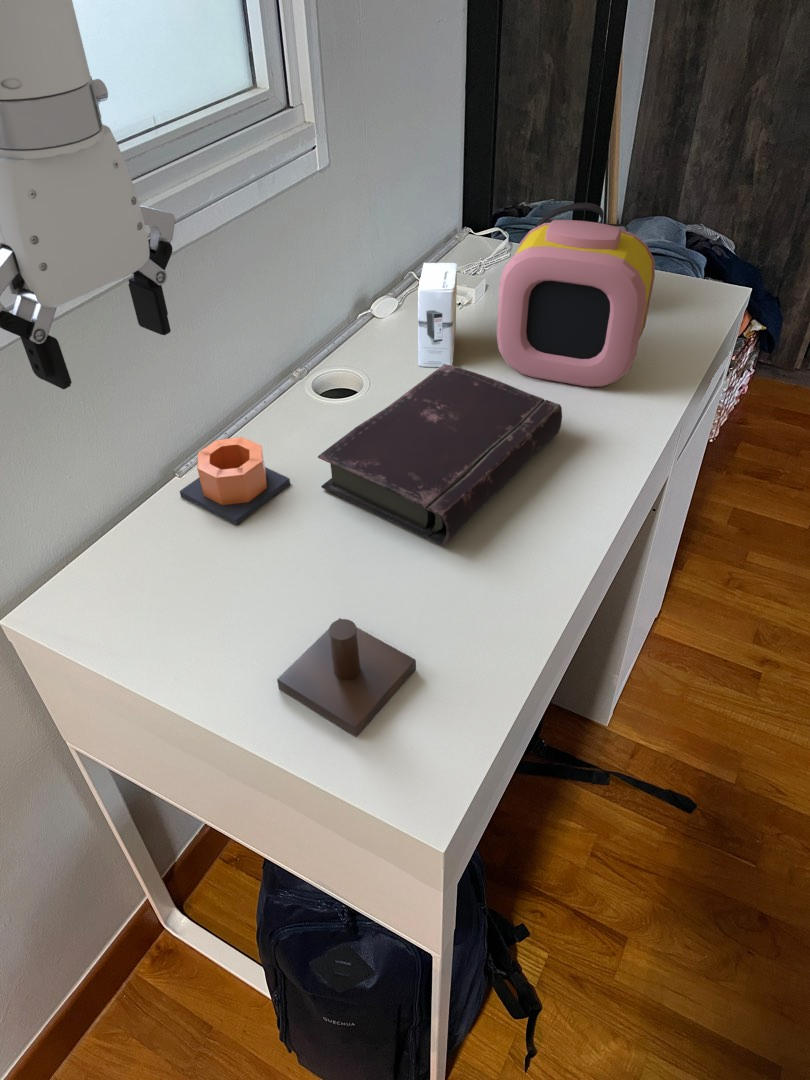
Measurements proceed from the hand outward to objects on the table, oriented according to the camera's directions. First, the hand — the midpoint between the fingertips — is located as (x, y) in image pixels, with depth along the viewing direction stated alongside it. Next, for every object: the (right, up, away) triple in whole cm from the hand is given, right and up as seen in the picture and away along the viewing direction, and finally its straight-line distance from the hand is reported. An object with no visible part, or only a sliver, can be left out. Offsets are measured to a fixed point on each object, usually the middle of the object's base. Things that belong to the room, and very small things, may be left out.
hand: (107, 354), depth 64 cm
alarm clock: (+46, +10, +50) cm, 69 cm away
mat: (+3, -9, +32) cm, 33 cm away
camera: (+49, +22, +64) cm, 84 cm away
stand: (+18, -27, +11) cm, 35 cm away
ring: (+3, -8, +31) cm, 32 cm away
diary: (+28, -5, +35) cm, 45 cm away
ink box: (+28, +12, +54) cm, 62 cm away
